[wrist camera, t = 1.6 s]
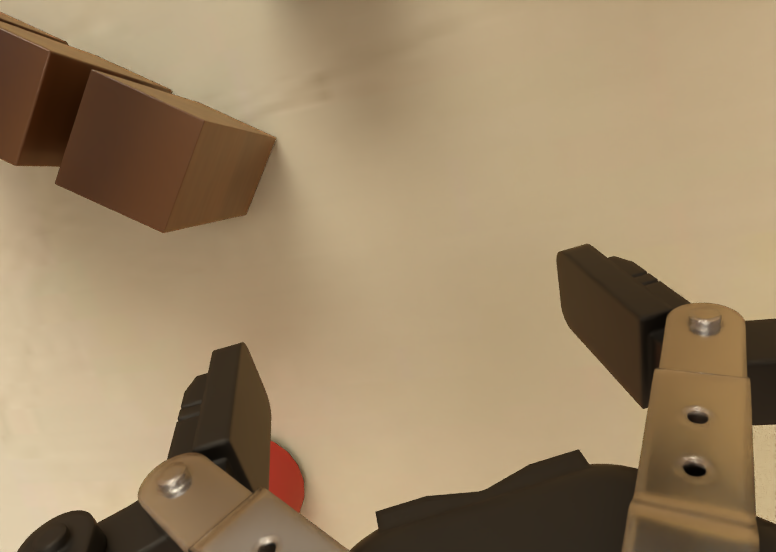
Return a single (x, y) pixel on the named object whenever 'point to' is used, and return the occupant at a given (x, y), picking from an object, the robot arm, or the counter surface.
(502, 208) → the counter surface
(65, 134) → the line block
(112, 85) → the line block
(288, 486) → the beer can
